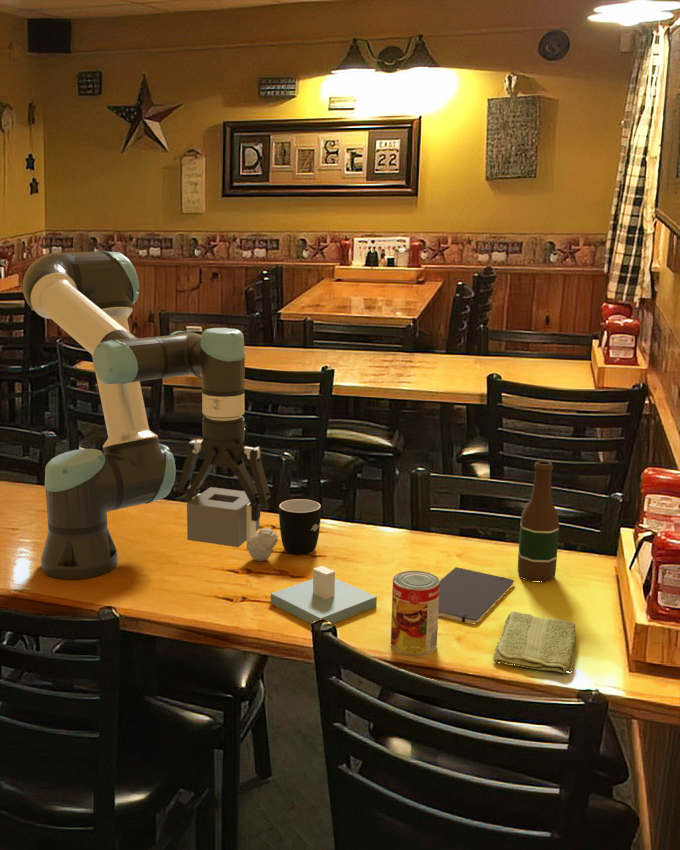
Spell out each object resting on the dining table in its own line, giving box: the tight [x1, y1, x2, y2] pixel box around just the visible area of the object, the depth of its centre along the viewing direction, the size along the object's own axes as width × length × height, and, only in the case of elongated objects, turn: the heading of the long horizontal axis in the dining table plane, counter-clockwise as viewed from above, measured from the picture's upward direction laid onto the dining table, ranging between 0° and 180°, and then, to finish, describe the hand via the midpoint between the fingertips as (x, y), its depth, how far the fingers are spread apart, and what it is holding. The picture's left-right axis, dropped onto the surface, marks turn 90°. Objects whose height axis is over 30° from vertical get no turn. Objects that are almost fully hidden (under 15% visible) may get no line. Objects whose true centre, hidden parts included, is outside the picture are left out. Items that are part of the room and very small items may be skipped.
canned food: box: [390, 570, 441, 657], centre depth 158 cm, size 8×8×12 cm
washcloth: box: [492, 611, 577, 674], centre depth 158 cm, size 13×18×3 cm
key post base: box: [270, 565, 378, 625], centre depth 173 cm, size 14×14×7 cm
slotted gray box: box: [186, 486, 260, 548], centre depth 171 cm, size 10×10×7 cm
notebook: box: [438, 566, 515, 624], centre depth 179 cm, size 13×2×21 cm
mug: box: [278, 498, 322, 556], centre depth 201 cm, size 12×9×10 cm
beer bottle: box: [517, 460, 560, 583], centre depth 186 cm, size 8×8×24 cm
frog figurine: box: [245, 527, 279, 562], centre depth 194 cm, size 6×7×7 cm
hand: (224, 532), depth 171 cm, fingers closed on slotted gray box, 10 cm apart
